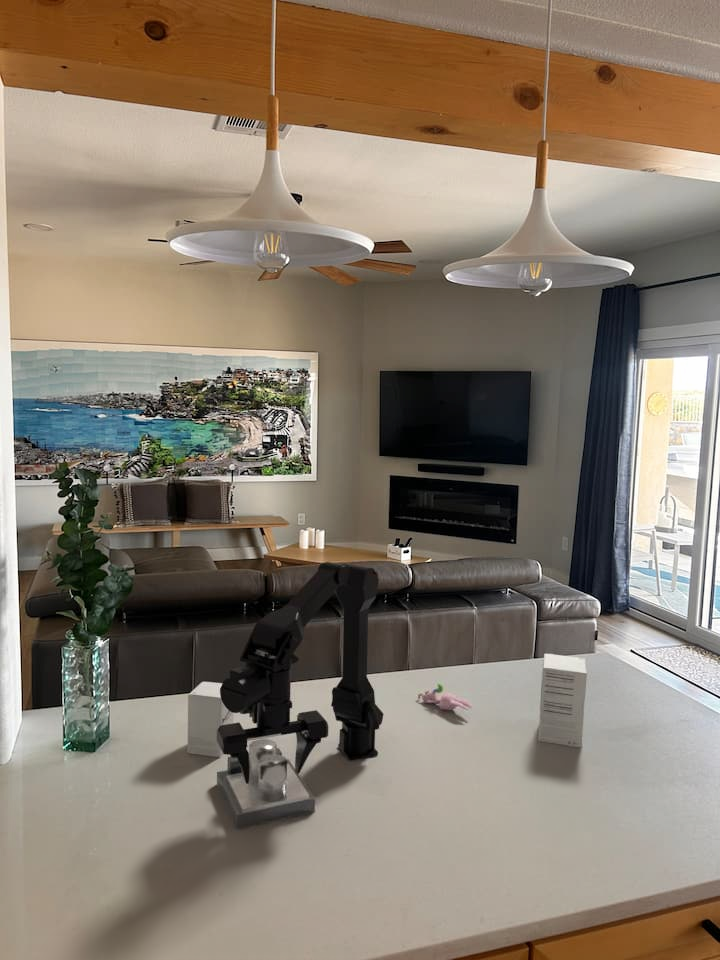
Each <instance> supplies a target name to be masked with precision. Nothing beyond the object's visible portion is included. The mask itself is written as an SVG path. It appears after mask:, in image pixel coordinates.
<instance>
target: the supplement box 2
mask: <svg viewBox="0 0 720 960" xmlns="http://www.w3.org/2000/svg"><path fill="white" fill-rule="evenodd" d="M542 661H543V663H542V670H541V671H542V672H541V673H542V674H541V687H540V688H541V690H540V705H539V706H540V707H539V723H538V724H539V725H538V742H544V743H550V744H555V745H562V746H570V747H575V748H582V746H583V732H584V731H583V730H584V717H585V700H586V691H587V690H586V689H587V677H588V672H587V666H586V665H587V662H586V661H587V659H586V658H584V657H576V656H569V655H568V656H567V655H561V654H555V653H543V660H542Z"/></svg>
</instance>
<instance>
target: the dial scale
mask: <svg viewBox="0 0 720 960" xmlns="http://www.w3.org/2000/svg"><path fill="white" fill-rule="evenodd" d="M277 755H281V756H283V752H282V751H281V749H280V747H277ZM286 759H287V789H286V796H285V797H284V798H283V799H281V800H279V801H274V802H268V801H264V800H262V799H260V798H259V797H258V784H257V783H253V782H251V781H250V780H249V783H248V784H246V782H245V780H244V777H243V774H242V771H241V768H240V765H239V762H238V759H237V758H232V757H231V756H227V770H222V771H216V785H217V787H218V790H219V792H220V795H221V797H222V799H223V801H224V803H225V806H226V808H227V810H228V812H229V815H230V816H231V819H232V821H233V824H234V826H235V828H236V829H242V828H248V827H253V826H256V825H262V824H265V823H270V822H274V821H279V820H283V819H288V818H292V817H297V816H298V817H299V816H302V815H307V814H311V813H315V811H316V808H315V807H316V798H315V797H314V795H313V794H312V792H311V790H310V789H309V788H308V787H307V784H306V783H305V781H304V780H303V779H302V777H301V776H300V773H299V774H297V773H296V772H295V766H294V765H293V764H292V762H291V760H290V759H288V758H286Z"/></svg>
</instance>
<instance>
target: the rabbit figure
mask: <svg viewBox="0 0 720 960" xmlns="http://www.w3.org/2000/svg"><path fill="white" fill-rule="evenodd" d="M437 686H438V687H437V688H435V689H433V690H432V691H430V690H428V691H426V690H425V691H424V694H423V693H419V694H418V696H417V700H418V701H420V699H422V701H423V703H425V704H435V705H438V707H439V709H441V710H444V711H453V710H455V709H456V708H457V707H460V708H462V709H464V710H466V711H467V710H469V709H468V708H470V709H472V708H473V706H472V704H471V703H470V701H468V699H464V698H458V697H457V696H456V695H454V694H452V693H446V694H442V697H440V696H439V695H438V694H440V693H443V691H444V686H443V685H442V684H441V683H437ZM421 697H422V698H421Z"/></svg>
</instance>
